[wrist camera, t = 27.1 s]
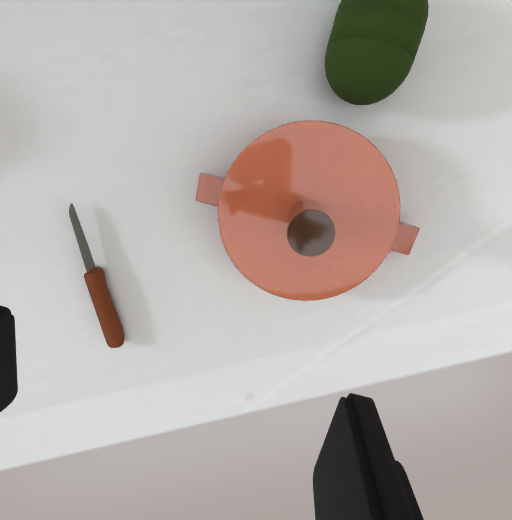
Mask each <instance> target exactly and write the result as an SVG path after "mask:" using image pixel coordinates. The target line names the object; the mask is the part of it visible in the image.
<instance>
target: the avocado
mask: <svg viewBox="0 0 512 520" xmlns="http://www.w3.org/2000/svg"><path fill="white" fill-rule="evenodd" d="M427 17H428V0H342V1H341V3H340V5H339V7H338V10H337V13H336V16H335V20H334V24H333V27H332V31H331V35H330V39H329V42H328V46H327V51H326V57H325V70H326V76H327V79H328V82H329V84H330V86H331V88H332V89H333V91H334V92H335V93H336V94H337V95H338V96H339V97H340V98H341V99H343V100H344V101H347V102H349V103H351V104H355V105H368V104H372V103H376V102H378V101H380V100H382V99H384V98H386V97H388V96H389V95H390V94H392V93H393V92H394V91H395V90H396V89H397V88H398V87H399V86H400V85H401V84H402V82H403V81H404V79H405V78H406V76H407V75H408V73H409V71H410V69H411V66H412V64H413V61H414V58H415V56H416V53H417V50H418V47H419V44H420V41H421V38H422V35H423V33H424V30H425V25H426V21H427Z"/></svg>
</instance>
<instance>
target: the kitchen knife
mask: <svg viewBox="0 0 512 520" xmlns="http://www.w3.org/2000/svg"><path fill="white" fill-rule="evenodd" d="M69 215H70V219H71V222H72V225H73V229H74V232H75V235H76V239H77V242H78V245H79V248H80V252H81V255H82V258H83V261H84V265H85V268H86V271H87V272H86V273H85V274H84V278H85V281H86V284H87V287H88V290H89V293H90V296H91V299H92V302H93V305H94V308H95V310H96V313H97V316H98V319H99V322H100V325H101V328H102V331H103V334H104V337H105V339H106V342H107V344H108V346H109V347H111V348H117V347H120V346H122V345H123V343H124V334H123V330H122V327H121V324H120V321H119V318H118V316H117V313H116V310H115V308H114V305H113V302H112V300H111V297H110V294H109V291H108V288H107V285H106V282H105V278H104V273H103V270H102V269H101V268H99V267H95V264H94V261H93V258H92V255H91V252H90V250H89V247H88V244H87V241H86V238H85V236H84V233H83V230H82V227H81V225H80V222H79V219H78V217H77V214H76V211H75V208H74V206H73V204H72V203H71V205H70V208H69Z"/></svg>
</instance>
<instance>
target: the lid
mask: <svg viewBox="0 0 512 520" xmlns="http://www.w3.org/2000/svg"><path fill="white" fill-rule="evenodd" d="M399 219H400V197H399V191H398V187H397V182H396V179H395V177H394V174H393V172H392V169H391V168H390V166H389V164H388V162H387V161H386V159H385V158H384V156H383V155H382V154H381V153H380V151H379V150H378V149H377V148H376V147H375V146H374V145H373V144H372V143H371V142H370V141H369V140H367V139H366V138H364V137H363V136H362V135H360V134H359V133H357V132H355V131H353V130H351V129H349V128H347V127H344V126H341V125H338V124H335V123H330V122H324V121H300V122H294V123H290V124H286V125H282V126H280V127H277V128H275V129H272V130H270V131H268V132H267V133H265V134H263V135H262V136H260V137H258V138H257V139H256V140H255V141H253V142H252V143H251V144H249V145H248V146H247V147H246V148H245V149H244V151H243V152H242V153H241V154H240V155H239V156H238V158H237V159H236V160H235V162H234V163H233V164H232V166H231V168H230V170H229V171H228V173H227V175H226V178H225V180H224V183H223V185H222V189H221V193H220V197H219V205H218V222H219V230H220V234H221V238H222V241H223V244H224V246H225V249H226V251H227V253H228V255H229V257H230V258H231V260H232V262H233V263H234V264H235V266H236V267H237V269H238V270H239V271H240V272H241V273H242V274H243V275H244V276H245V277H246V278H247V279H248V280H250V281H251V282H252V283H253V284H255V285H256V286H258V287H259V288H261V289H263V290H265V291H267V292H269V293H271V294H273V295H276V296H279V297H282V298H287V299H292V300H303V301H307V300H320V299H326V298H330V297H333V296H337V295H339V294H341V293H344V292H346V291H348V290H350V289H352V288H354V287H355V286H357V285H359V284H360V283H361V282H363V281H364V280H365V279H367V278H368V277H369V276H370V275H371V274H372V273H373V272H374V271H375V270H376V269H377V268H378V266H379V265H380V264H381V263H382V262H383V260H384V258H385V257H386V255H387V254H388V252H389V250H390V248H391V246H392V244H393V242H394V239H395V236H396V233H397V230H398V224H399Z"/></svg>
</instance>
